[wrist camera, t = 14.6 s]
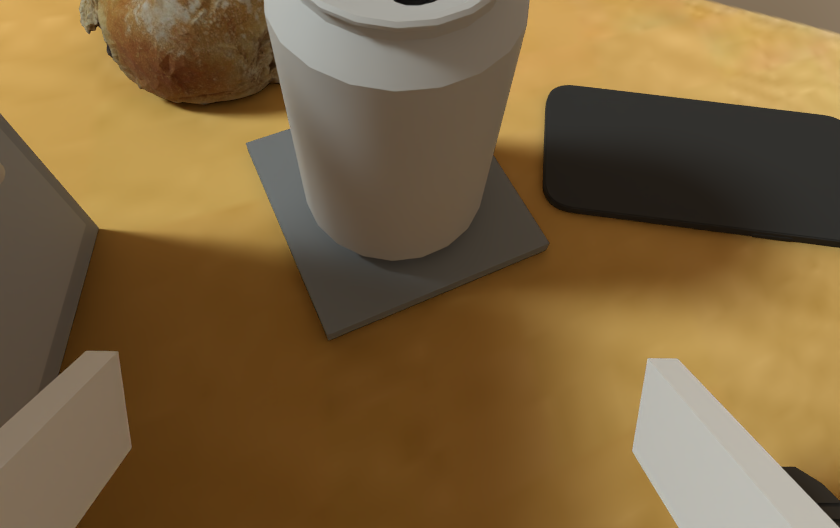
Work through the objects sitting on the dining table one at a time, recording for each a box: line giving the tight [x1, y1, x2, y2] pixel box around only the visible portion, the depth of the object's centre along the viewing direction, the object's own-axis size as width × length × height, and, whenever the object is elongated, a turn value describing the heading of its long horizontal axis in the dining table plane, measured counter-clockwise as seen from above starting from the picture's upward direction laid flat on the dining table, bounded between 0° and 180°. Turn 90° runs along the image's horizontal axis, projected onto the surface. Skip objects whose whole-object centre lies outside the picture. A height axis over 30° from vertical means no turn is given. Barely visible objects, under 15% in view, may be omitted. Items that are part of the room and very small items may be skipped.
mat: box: [246, 129, 549, 340], centre depth 26 cm, size 10×10×1 cm
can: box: [264, 0, 529, 261], centre depth 20 cm, size 8×8×12 cm
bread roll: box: [79, 0, 280, 105], centre depth 28 cm, size 10×10×8 cm
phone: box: [543, 85, 840, 248], centre depth 28 cm, size 7×1×15 cm
